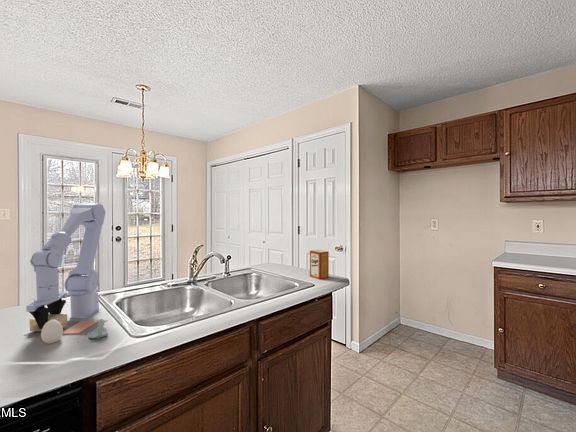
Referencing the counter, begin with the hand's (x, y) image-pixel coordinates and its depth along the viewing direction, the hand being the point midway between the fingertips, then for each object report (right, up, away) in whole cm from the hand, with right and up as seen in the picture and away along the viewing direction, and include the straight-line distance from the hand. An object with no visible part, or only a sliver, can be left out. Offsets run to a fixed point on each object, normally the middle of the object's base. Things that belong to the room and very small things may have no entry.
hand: (48, 325), depth 98 cm
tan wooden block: (0, -1, 0) cm, 1 cm away
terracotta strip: (+9, -2, +2) cm, 9 cm away
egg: (+8, -3, -8) cm, 12 cm away
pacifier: (+19, -3, -5) cm, 20 cm away
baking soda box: (+99, 0, +75) cm, 125 cm away
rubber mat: (+5, -2, +2) cm, 6 cm away
